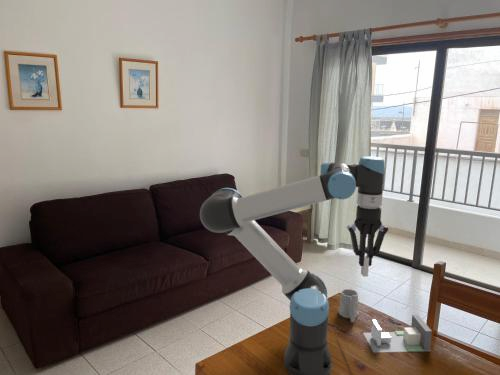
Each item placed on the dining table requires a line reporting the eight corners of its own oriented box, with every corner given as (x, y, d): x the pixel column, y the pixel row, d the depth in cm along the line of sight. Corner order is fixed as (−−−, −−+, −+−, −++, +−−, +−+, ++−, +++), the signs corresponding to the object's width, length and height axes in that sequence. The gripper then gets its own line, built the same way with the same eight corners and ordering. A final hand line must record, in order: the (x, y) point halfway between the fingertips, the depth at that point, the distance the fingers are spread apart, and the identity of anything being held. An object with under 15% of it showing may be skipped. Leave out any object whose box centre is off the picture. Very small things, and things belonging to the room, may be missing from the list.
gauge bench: (373, 355, 126) (375, 333, 125) (362, 335, 137) (364, 315, 135) (430, 354, 127) (432, 332, 125) (415, 334, 138) (417, 313, 136)
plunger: (377, 345, 128) (378, 329, 127) (371, 335, 134) (372, 319, 133) (392, 345, 129) (393, 329, 127) (385, 335, 134) (386, 319, 133)
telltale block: (408, 344, 130) (409, 334, 129) (403, 337, 134) (404, 327, 133) (419, 344, 130) (420, 334, 129) (414, 337, 134) (415, 327, 133)
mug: (355, 310, 154) (357, 283, 151) (363, 327, 142) (365, 298, 140) (336, 310, 154) (337, 282, 151) (342, 327, 142) (344, 297, 140)
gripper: (351, 209, 118) (347, 279, 123) (394, 208, 118) (388, 279, 123) (345, 202, 125) (341, 269, 130) (385, 202, 125) (380, 269, 130)
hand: (364, 274), depth 127 cm, fingers closed
